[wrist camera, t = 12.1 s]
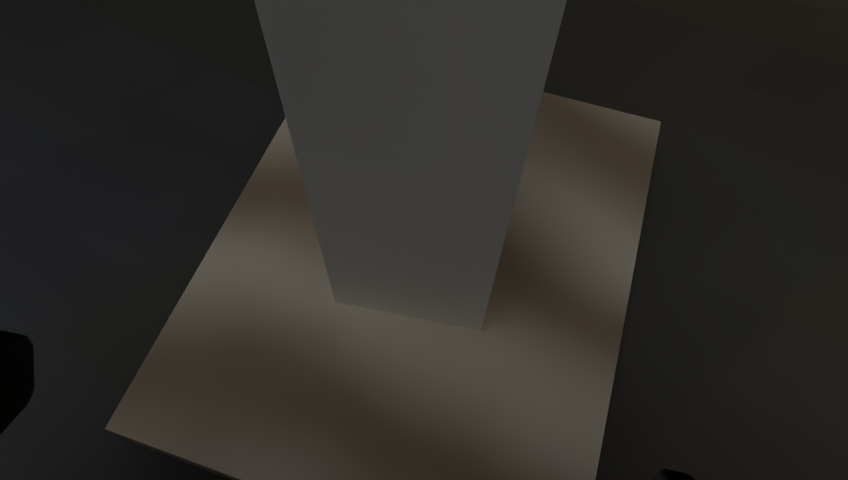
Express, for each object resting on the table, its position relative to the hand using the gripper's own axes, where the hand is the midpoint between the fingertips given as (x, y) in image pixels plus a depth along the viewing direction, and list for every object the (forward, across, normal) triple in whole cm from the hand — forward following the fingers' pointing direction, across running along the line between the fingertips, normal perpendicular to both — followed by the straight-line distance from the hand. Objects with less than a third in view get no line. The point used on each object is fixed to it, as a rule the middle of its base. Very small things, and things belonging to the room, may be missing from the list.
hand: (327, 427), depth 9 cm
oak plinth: (+12, 0, +2) cm, 13 cm away
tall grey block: (+11, 0, +1) cm, 11 cm away
